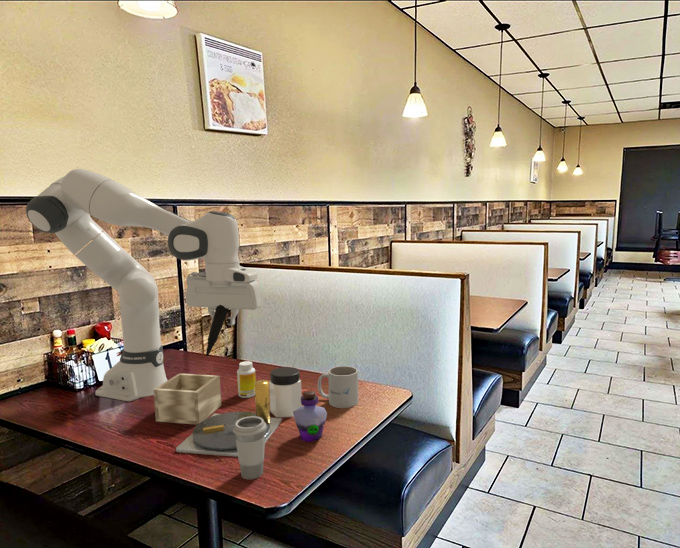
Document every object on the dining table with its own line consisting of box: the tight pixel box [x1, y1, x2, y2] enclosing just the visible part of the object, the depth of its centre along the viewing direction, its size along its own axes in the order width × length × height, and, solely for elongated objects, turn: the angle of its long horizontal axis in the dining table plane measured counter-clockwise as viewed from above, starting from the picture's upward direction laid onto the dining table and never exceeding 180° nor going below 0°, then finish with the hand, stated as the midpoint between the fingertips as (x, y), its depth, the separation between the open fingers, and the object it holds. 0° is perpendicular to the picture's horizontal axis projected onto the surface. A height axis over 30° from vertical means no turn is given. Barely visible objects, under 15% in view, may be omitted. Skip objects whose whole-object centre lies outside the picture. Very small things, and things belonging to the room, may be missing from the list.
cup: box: [233, 416, 267, 480], centre depth 103 cm, size 7×7×12 cm
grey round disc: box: [192, 379, 271, 450], centre depth 121 cm, size 19×19×12 cm
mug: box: [317, 365, 359, 409], centre depth 141 cm, size 12×9×10 cm
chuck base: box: [175, 412, 283, 458], centre depth 122 cm, size 20×20×1 cm
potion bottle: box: [293, 390, 328, 443], centre depth 119 cm, size 9×9×12 cm
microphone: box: [205, 305, 230, 357], centre depth 127 cm, size 6×6×20 cm
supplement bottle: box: [236, 360, 257, 399], centre depth 148 cm, size 6×6×10 cm
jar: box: [268, 366, 303, 418], centre depth 135 cm, size 9×8×12 cm
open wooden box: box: [153, 373, 222, 426], centre depth 136 cm, size 13×13×9 cm
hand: (223, 324), depth 130 cm, fingers closed on microphone, 3 cm apart
